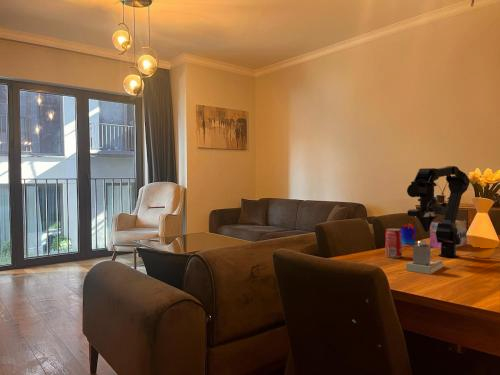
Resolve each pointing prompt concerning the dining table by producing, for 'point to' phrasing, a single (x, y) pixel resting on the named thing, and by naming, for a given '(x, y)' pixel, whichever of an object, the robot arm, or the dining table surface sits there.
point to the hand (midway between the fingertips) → (426, 231)
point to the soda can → (393, 243)
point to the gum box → (434, 244)
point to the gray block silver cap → (421, 253)
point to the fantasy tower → (408, 235)
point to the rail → (424, 267)
